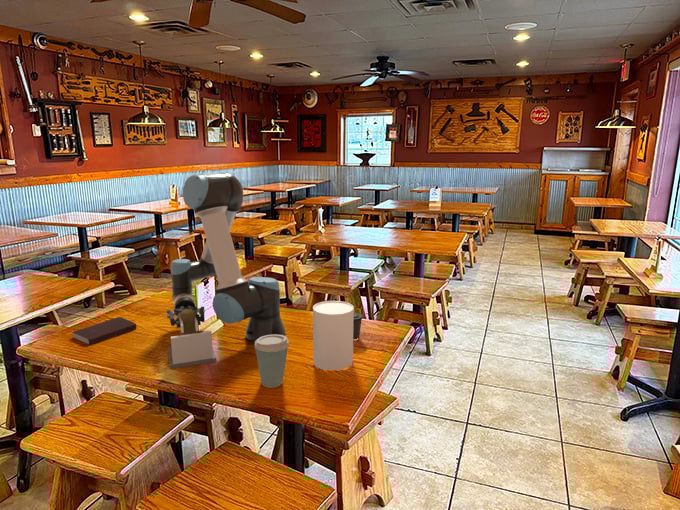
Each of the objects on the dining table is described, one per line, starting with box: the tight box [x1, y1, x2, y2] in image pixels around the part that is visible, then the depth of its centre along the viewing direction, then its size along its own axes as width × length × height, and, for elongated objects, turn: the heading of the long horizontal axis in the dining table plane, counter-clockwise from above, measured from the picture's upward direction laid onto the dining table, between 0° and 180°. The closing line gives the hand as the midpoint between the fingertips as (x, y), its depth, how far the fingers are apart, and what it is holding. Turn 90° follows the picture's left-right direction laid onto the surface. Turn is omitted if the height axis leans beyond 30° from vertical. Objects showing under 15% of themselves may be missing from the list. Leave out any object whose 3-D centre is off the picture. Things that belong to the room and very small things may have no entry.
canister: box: [312, 300, 355, 370], centre depth 156 cm, size 14×14×20 cm
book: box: [72, 316, 138, 346], centre depth 182 cm, size 12×19×3 cm, turn 146°
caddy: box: [167, 330, 217, 370], centre depth 162 cm, size 16×15×10 cm
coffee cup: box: [353, 312, 364, 339], centre depth 177 cm, size 8×8×10 cm
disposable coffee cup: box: [254, 334, 290, 389], centre depth 143 cm, size 11×11×15 cm
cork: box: [180, 309, 198, 335], centre depth 161 cm, size 6×6×11 cm
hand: (189, 328), depth 156 cm, fingers closed on cork, 4 cm apart
